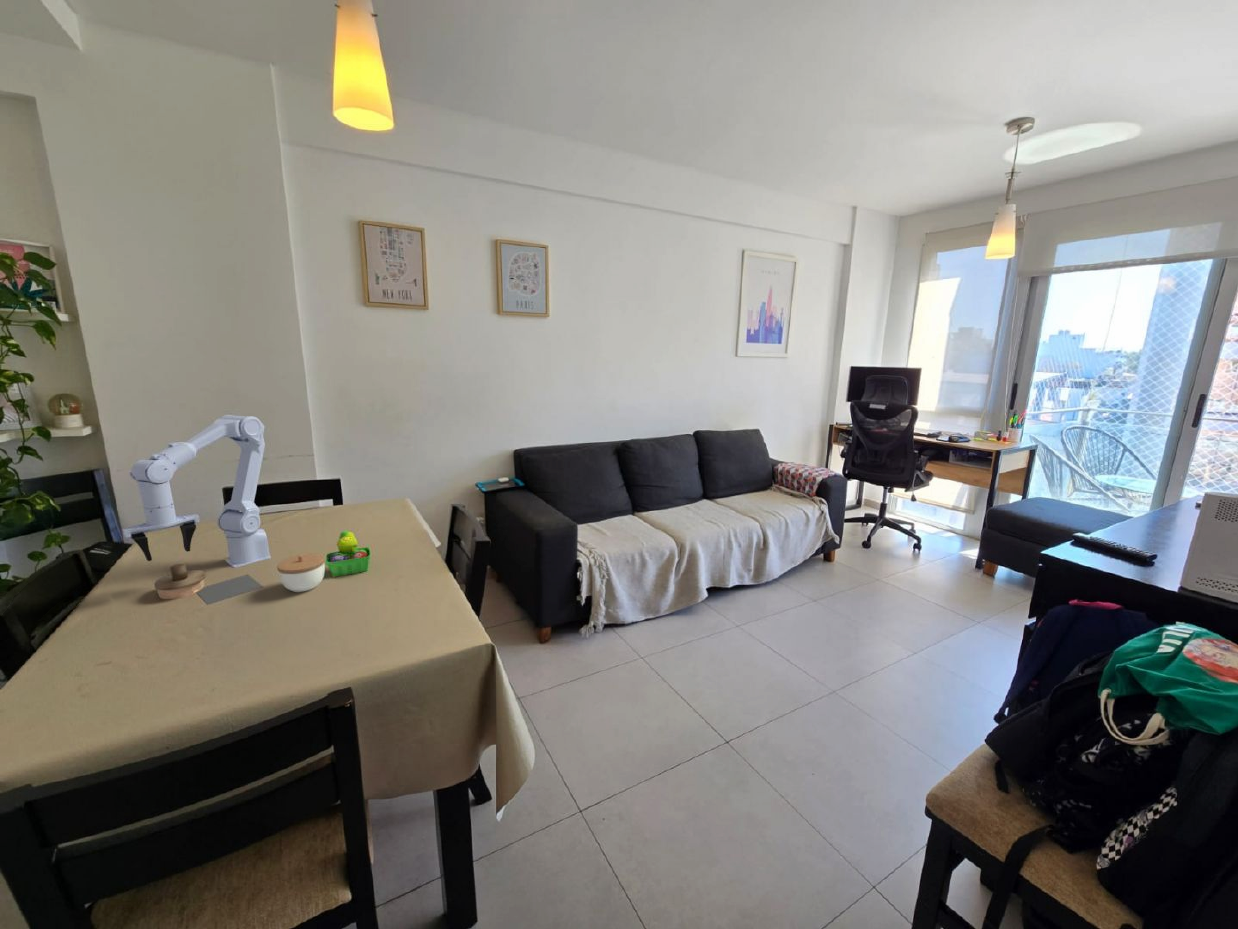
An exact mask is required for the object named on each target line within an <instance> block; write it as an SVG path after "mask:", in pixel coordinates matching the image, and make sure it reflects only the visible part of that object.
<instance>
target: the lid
mask: <svg viewBox="0 0 1238 929" xmlns="http://www.w3.org/2000/svg"><path fill="white" fill-rule="evenodd" d="M186 566H187V565H186V563H177V564H174V565H173V564H172V565H171V566H170V567H169V569H170V573H171V574H168V575H166V576H162V577H161V578H159V579H157V580H156V581H155V582H154V584H153V585H154V589H156V591H157V590H175V589H180V588H184V587H188V586H191V585H194V584H196V583H198V582H200V581H202V580H203V579H205V578H206V573H205V572H204V571H203V570H198V569H197V570H196V569H193V570H191V569H190V570H187V567H186Z"/></svg>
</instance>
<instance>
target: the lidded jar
mask: <svg viewBox="0 0 1238 929" xmlns="http://www.w3.org/2000/svg"><path fill="white" fill-rule="evenodd" d="M325 566H326V558H325V556H323V555H322V554H319V553H304V554H298V555H294V556H291V557H288V558H285V559H283V560H282V561H280V562H278V564H277V566H276V567H277V571H278V572H277V573H278V577H279V580H280V582H281V585H283V586H284V588H286V589H287V590H288V591H292V592H295V593H303V592H309V591H311V590H313V589H315V588H317V587H318V585H320V584H321V582H322V581H323V579H324V577H325V573H326V572H325V571H326V569H325V568H326V567H325Z"/></svg>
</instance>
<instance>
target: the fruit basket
mask: <svg viewBox="0 0 1238 929" xmlns="http://www.w3.org/2000/svg"><path fill="white" fill-rule="evenodd" d="M338 538H339V539H338V540H337V542H336V546H337V548H338V551H334V552H329V553H327V554H326V557H325V565H326V566H327V567H328V569H329V571H330V574H331V576H332V577H333V578H334V577H339V576H346V575H350V574H352V575H353V574H357V573H358V574H359V573H362V572H368V570H369V565H370V559H371V555H372V554H371V546H370V547H369V546H368V547H367V546H366V547H359V548H358V544H359V543H358V540H357V539H356V537H355V534H354V533H353V532H351V531H349V530H343V531H342V532H340V535H339V537H338Z"/></svg>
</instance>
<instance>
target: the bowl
mask: <svg viewBox="0 0 1238 929" xmlns="http://www.w3.org/2000/svg"><path fill="white" fill-rule="evenodd" d="M204 579H205V578H204ZM204 579H203V580H202V581H200V582H198V583H196V584H194V585H191V586H188V587H184V588H180V589H175V590H157V589H156V591H157V595H158V597H159V598H160V599H163V600H175V599H181V598H185V597H188V596H190V595H191V596H192V595H193V594H197V593H196V592H198V591H199V590H201V589H202V588H203V587H205V580H204Z"/></svg>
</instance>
